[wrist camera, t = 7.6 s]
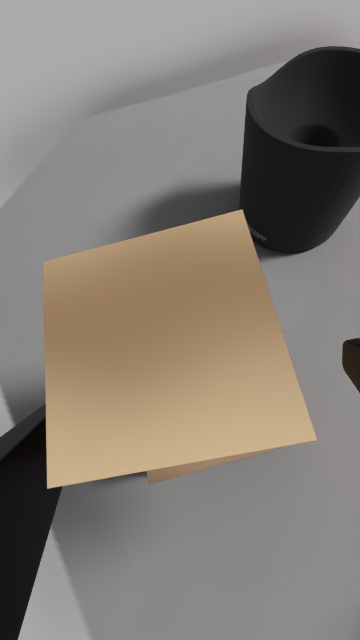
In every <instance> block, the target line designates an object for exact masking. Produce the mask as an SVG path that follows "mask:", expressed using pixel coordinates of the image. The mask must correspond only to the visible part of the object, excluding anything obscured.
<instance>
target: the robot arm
mask: <svg viewBox="0 0 360 640" xmlns="http://www.w3.org/2000/svg"><path fill="white" fill-rule="evenodd" d="M342 365H343V368H344V370H345V372H346V374H347V375H348V376H349V378H350V379H351V381H352V382H353V384H354V385H355V387H356V388H357V390H358V391H359V392H360V338H355V339H350V340H346V341H345V342H344V343H343V353H342ZM61 489H62V486H60V487H54V488H49V489H47V449H46V404H44V405H43V406H42V407H40V408H39V409H38V410H36V411H35V412H34V413H32V414H31V415H30V416H28V417H27V418H25V419H24V420H23V421H21V422H20V423H19V424H17V425H16V426H15V427H13V428H12V429H11V430H9V431H8V432H7V433H5V434H4V435H3V436H1V437H0V640H18V637H19V633H20V630H21V626H22V623H23V620H24V616H25V613H26V609H27V606H28V602H29V599H30V596H31V592H32V588H33V585H34V582H35V578H36V575H37V571H38V568H39V565H40V561H41V558H42V554H43V551H44V547H45V544H46V541H47V537H48V534H49V530H50V527H51V524H52V520H53V517H54V513H55V510H56V506H57V503H58V499H59V496H60V493H61Z"/></svg>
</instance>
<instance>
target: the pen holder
mask: <svg viewBox="0 0 360 640" xmlns="http://www.w3.org/2000/svg"><path fill="white" fill-rule="evenodd" d="M359 197H360V49H357V48H351V47H336V46H334V47H333V46H330V47H320V48H315V49H312V50H308V51H306V52H304V53H301V54H299V55H298V56H296V57H295V58H293V59H292V60H290V61H289V62H288V63H286V64H285V65H284V66H283V67H281V68H280V69H279V70H278V71H277V72H275V73H274V74H273V75H272V76H271V77H270V78H268V79H267V80H266V81H264V82H263V83H261V84H259V85H257V86H255V87H253V88H251V89H250V90H249V91H248V94H247V102H246V117H245V131H244V145H243V159H242V173H241V188H240V209H239V210H243V213H244V216H245V219H246V222H247V225H248V228H249V231H250V235H251V238H253V239H254V240H255V241H256V242H258V243H259V244H261V245H263V246H265V247H267V248H270V249H273V250H276V251H282V252H299V251H305V250H308V249H312V248H314V247H316V246H318V245H320V244H322V243H323V242H325V241H326V240H327V239H328V238H329V237H330V236H331V235H332V234H333V233H334V232H335V230H336V229H337V228H338V226H339V225H340V223H341V222H342V221H343V219H344V218H345V217H346V215H347V214H348V212H349V211H350V210H351V208H352V207H353V205H354V204H355V203H356V201H357V200H358V198H359Z"/></svg>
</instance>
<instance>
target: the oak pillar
mask: <svg viewBox="0 0 360 640" xmlns="http://www.w3.org/2000/svg"><path fill="white" fill-rule="evenodd" d="M43 287H44V341H45V395H46V449H47V489H49V488H54V487H60V486H65V485H71V484H77V483H82V482H88V481H93V480H99V479H104V478H110V477H115V476H121V475H126V474H132V473H138V472H143V471H149V470H154V469H160V468H165V467H171V466H176V465H182V464H187V463H193V462H199V461H204V460H210V459H215V458H221V457H226V456H232V455H237V454H243V453H249V452H254V451H260V450H265V449H271V448H276V447H282V446H287V445H293V444H298V443H304V442H310V441H315V440H317V439H316V435H315V432H314V429H313V426H312V423H311V420H310V417H309V414H308V411H307V408H306V405H305V401H304V398H303V395H302V392H301V389H300V386H299V383H298V380H297V377H296V374H295V371H294V367H293V364H292V361H291V358H290V355H289V352H288V349H287V346H286V343H285V340H284V337H283V333H282V330H281V327H280V324H279V321H278V318H277V315H276V312H275V309H274V306H273V303H272V299H271V296H270V293H269V290H268V287H267V284H266V281H265V278H264V275H263V272H262V269H261V265H260V262H259V259H258V256H257V253H256V250H255V247H254V244H253V241H252V238H251V235H250V231H249V228H248V225H247V222H246V219H245V216H244V213H243V210H238V211H234V212H230V213H226V214H223V215H219V216H215V217H211V218H208V219H204V220H200V221H196V222H192V223H189V224H185V225H181V226H177V227H174V228H170V229H166V230H162V231H158V232H155V233H151V234H147V235H143V236H140V237H136V238H132V239H128V240H124V241H121V242H117V243H113V244H109V245H105V246H102V247H98V248H94V249H90V250H87V251H83V252H79V253H75V254H71V255H68V256H64V257H60V258H56V259H53V260H49V261H45V262H43Z"/></svg>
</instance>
